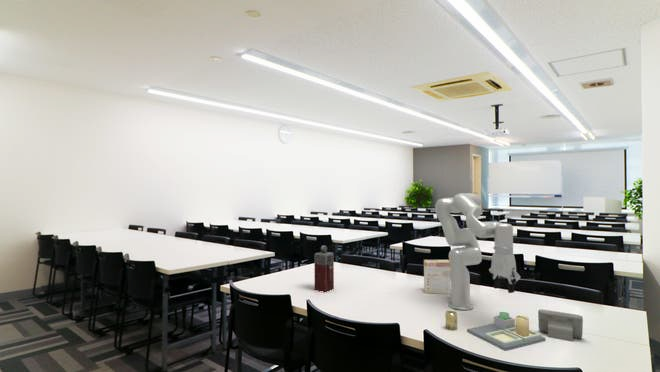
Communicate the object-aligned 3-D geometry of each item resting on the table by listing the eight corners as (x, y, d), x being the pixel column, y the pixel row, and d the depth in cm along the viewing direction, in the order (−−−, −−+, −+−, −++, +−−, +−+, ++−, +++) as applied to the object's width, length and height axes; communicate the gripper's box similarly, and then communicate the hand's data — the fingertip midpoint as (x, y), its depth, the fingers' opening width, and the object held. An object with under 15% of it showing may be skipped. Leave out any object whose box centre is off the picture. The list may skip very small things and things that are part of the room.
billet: (443, 327, 161) (443, 311, 161) (451, 325, 163) (451, 310, 163) (451, 331, 157) (450, 315, 157) (459, 329, 159) (459, 313, 159)
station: (467, 331, 156) (467, 312, 156) (504, 323, 165) (504, 305, 165) (505, 350, 137) (505, 328, 137) (545, 340, 146) (545, 320, 146)
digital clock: (584, 338, 149) (584, 313, 149) (580, 345, 142) (580, 318, 142) (540, 328, 160) (540, 304, 160) (535, 333, 153) (535, 309, 153)
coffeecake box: (448, 291, 218) (448, 259, 218) (451, 294, 211) (450, 262, 211) (423, 290, 220) (423, 259, 220) (425, 293, 212) (425, 261, 213)
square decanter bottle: (329, 293, 214) (329, 247, 215) (314, 290, 221) (314, 245, 221) (337, 289, 222) (336, 245, 222) (322, 287, 228) (322, 244, 228)
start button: (497, 322, 159) (497, 312, 160) (503, 320, 161) (503, 311, 161) (504, 325, 156) (504, 315, 156) (511, 324, 157) (511, 314, 157)
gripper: (482, 248, 165) (482, 286, 165) (514, 254, 149) (514, 296, 149) (494, 247, 168) (494, 284, 168) (526, 253, 152) (527, 294, 152)
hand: (504, 289), depth 159 cm, fingers open, 6 cm apart
